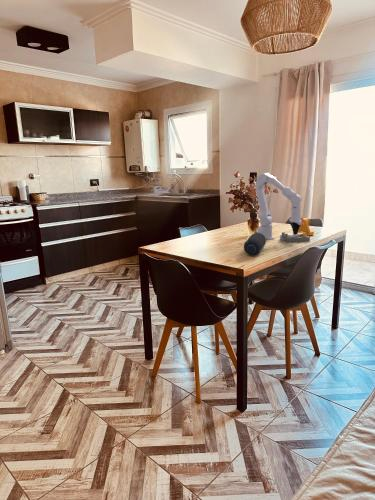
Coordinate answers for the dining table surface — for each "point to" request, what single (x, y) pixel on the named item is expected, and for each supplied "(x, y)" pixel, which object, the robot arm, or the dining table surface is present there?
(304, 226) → the orange animal figurine
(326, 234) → the dining table surface
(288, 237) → the base block
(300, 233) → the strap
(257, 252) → the portable speaker
